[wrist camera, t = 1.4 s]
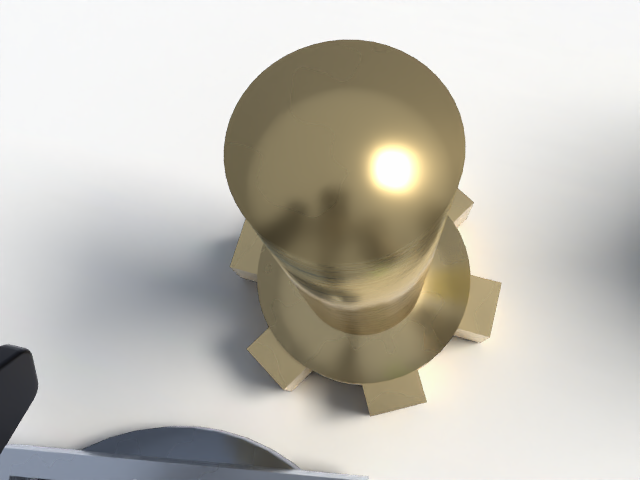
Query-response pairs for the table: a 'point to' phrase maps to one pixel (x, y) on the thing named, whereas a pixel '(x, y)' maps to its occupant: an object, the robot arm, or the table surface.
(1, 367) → the robot arm
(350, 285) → the planet gear
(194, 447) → the carrier plate
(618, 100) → the table surface
